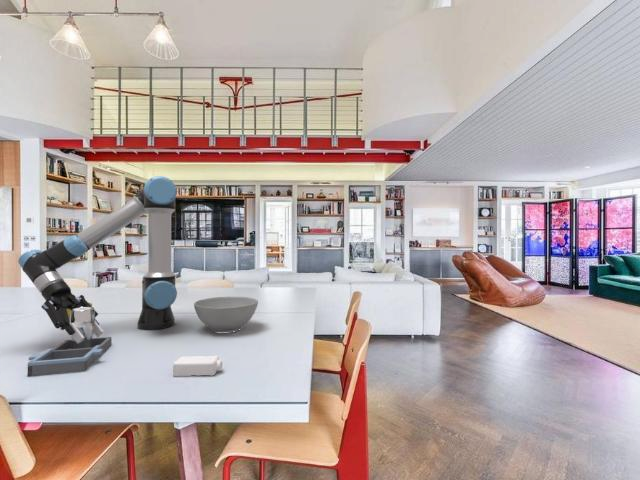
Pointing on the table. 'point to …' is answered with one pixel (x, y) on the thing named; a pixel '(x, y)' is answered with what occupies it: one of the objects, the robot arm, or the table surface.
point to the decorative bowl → (225, 312)
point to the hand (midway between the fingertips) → (90, 337)
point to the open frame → (67, 358)
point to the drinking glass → (83, 325)
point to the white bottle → (197, 365)
